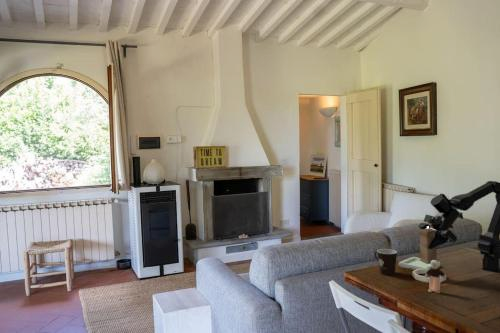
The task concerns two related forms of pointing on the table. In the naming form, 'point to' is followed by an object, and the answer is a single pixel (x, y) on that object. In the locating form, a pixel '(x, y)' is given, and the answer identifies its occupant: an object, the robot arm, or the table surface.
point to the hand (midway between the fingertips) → (425, 247)
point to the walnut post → (425, 241)
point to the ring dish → (422, 278)
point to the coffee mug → (386, 261)
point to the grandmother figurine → (434, 277)
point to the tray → (414, 264)
